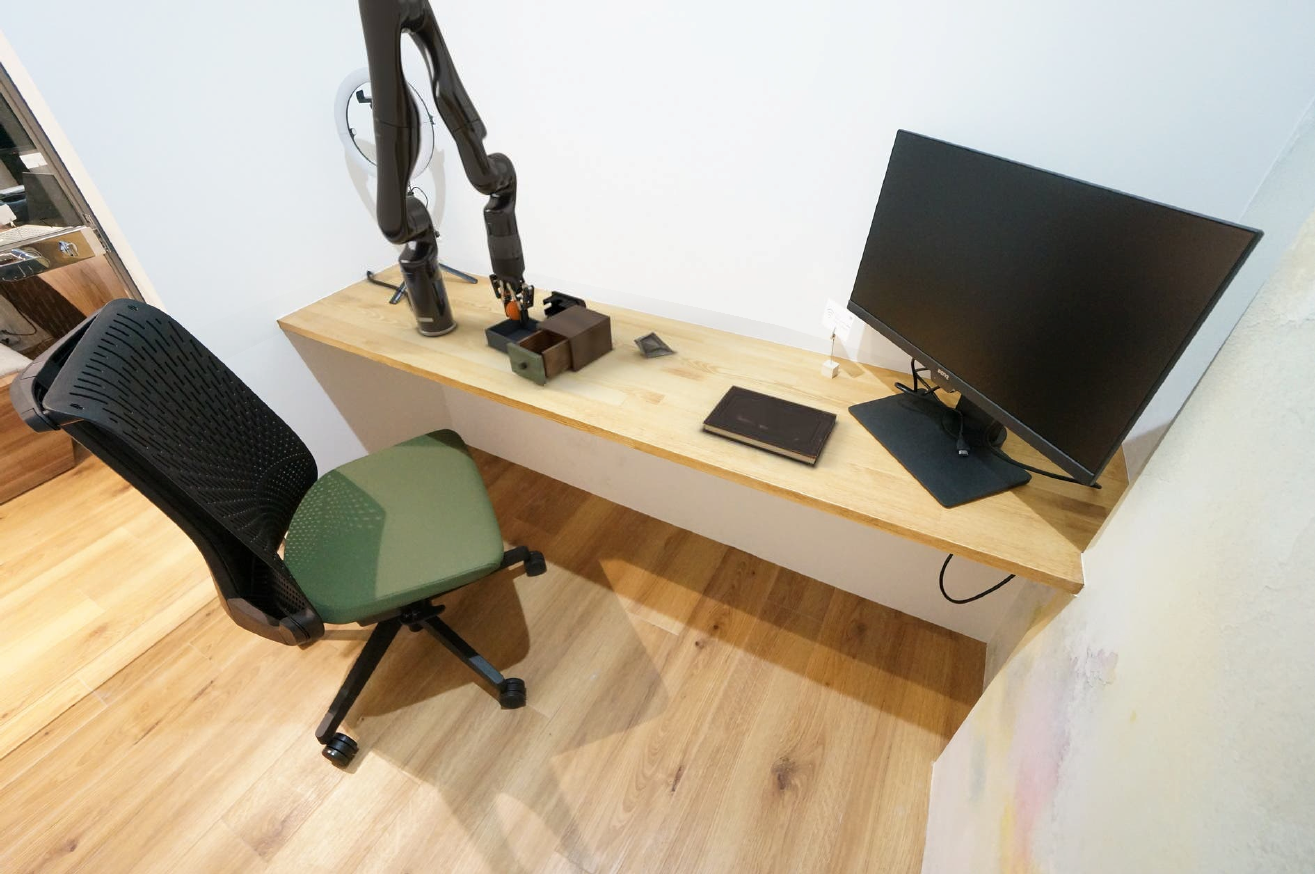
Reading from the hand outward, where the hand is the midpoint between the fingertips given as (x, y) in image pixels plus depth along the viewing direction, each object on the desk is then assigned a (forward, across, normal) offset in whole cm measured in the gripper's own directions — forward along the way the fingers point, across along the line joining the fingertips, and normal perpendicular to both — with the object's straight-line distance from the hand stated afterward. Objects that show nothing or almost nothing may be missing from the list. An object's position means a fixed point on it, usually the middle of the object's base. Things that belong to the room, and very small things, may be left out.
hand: (517, 318), depth 133 cm
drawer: (+6, +15, -6) cm, 17 cm away
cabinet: (+7, +15, +5) cm, 17 cm away
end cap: (+7, -1, +17) cm, 19 cm away
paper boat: (+7, +31, +15) cm, 35 cm away
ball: (-2, 0, 0) cm, 2 cm away
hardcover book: (+6, +68, +7) cm, 69 cm away
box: (+7, 0, 0) cm, 7 cm away
